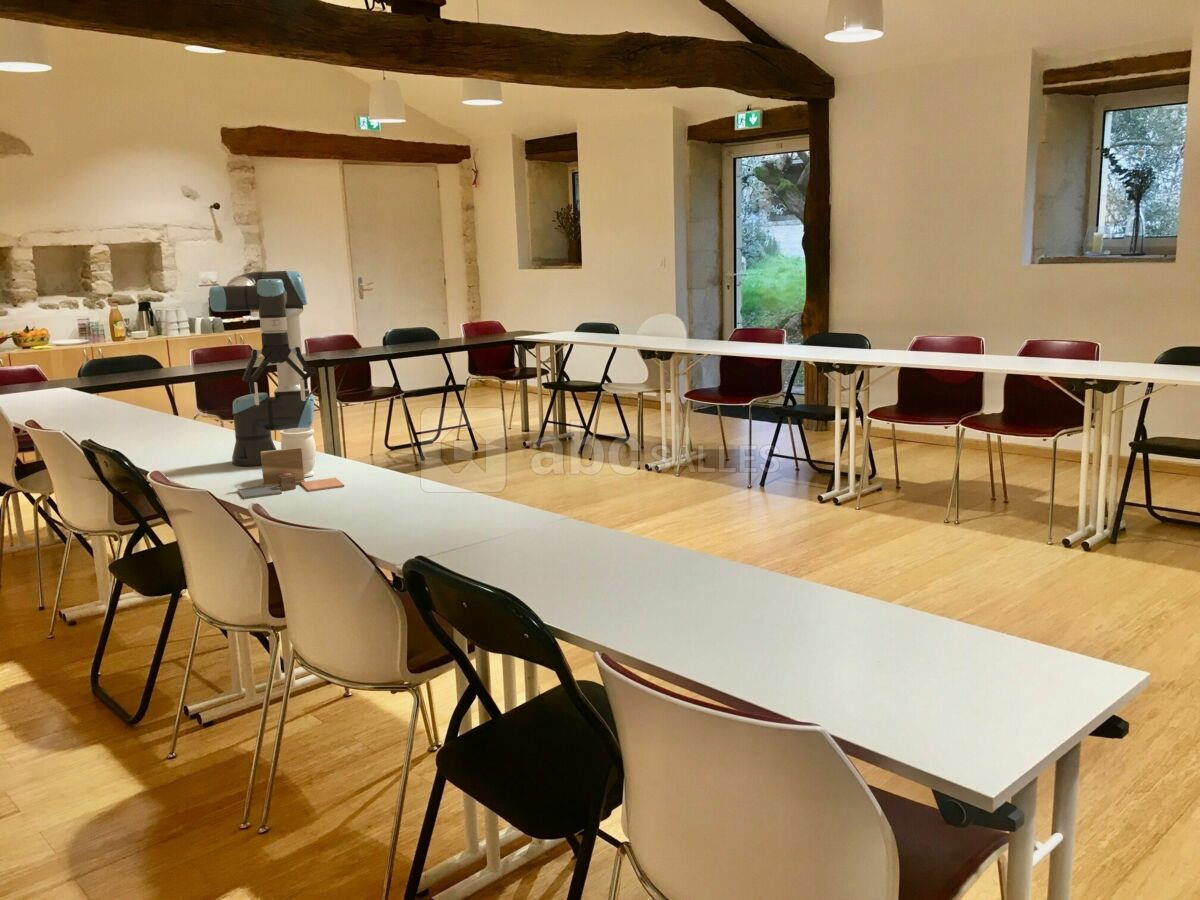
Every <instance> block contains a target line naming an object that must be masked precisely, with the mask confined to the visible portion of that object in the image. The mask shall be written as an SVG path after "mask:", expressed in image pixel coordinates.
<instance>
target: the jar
mask: <svg viewBox="0 0 1200 900" xmlns="http://www.w3.org/2000/svg"><path fill="white" fill-rule="evenodd" d="M314 433H315V429H314V428H313V427H309V428H291V429H286V430H279V434H280V436H281V441H280V449H289V448H298V447H301V450H302V462H303V474H304V479H305V478H311V477H313V476H314V475H315V472H314V471H313V469H314V467H315V463H316V451H317V450H316V449H317V447H316V442H315V437H314V435H313V434H314Z"/></svg>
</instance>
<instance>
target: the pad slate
mask: <svg viewBox="0 0 1200 900" xmlns="http://www.w3.org/2000/svg"><path fill="white" fill-rule="evenodd" d="M236 491H237V492H238V493H239V496H241V498H242V499H243V500H244V499H245V500H246V499H252V498H253V499H254V498H261V497H262V498H263V497H269V496H277V495H282V494H283V493H282V490H281V489H280V488H279V487H277V486H276V485H275V486H267V487H265V486H263V485H259V486H253V487H252V486H251V487H244V488H242V487H241V488H237V489H236Z"/></svg>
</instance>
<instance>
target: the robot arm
mask: <svg viewBox="0 0 1200 900" xmlns="http://www.w3.org/2000/svg"><path fill="white" fill-rule="evenodd" d="M208 291H209V292H208V296H209V306H210V309H211V310H212V311H213V312H221V313H222V312H223V313H225V312H239V311H240V312H242V311H259V324H260V331H261V334H260V335H261V337H260V338H261V346H262V348H261V349H255V348H253V349H251V351H250V352H251V353H250V359H249V361H248V363H247V365H246V368H245V371H244V372H243V373H244V374H243V375H242V381H243V382H246V383H248V384H249V393H250V394H246V395H243V396H239V397H237V398H235V399H234V400H233V401H232V415H233V424H234V435H235V443H234V448H233V453H232V455H231V456H232V457H231V461H232V462H231V463H232V465H234V466H238V467H256V466H262V462H261V452H262V451H271V450H277V448H276V445H275V442H274V441H273V438H272V431H282V430H286V429H291V428H312V426H313V421H314V412H315V411H314V410H315V395H314V394H312V393H311V394H310V388H309V384H308V379H309V378H311V377H313V376H314V373H313V371H312V370H311V368H310V366H309V365H308V363H307V361H306V359H305V357H304V356H303V349H302V335H301V324H300V322H301V321H300V315H301V314H302V313H303V312H304V306H307V304H308V299H307V294H306V289H305V284H304V281H303V277H302V274H301V273H300V272H299V271H296V270H295V271H293V270H278V271H277V270H276V271H273V270H272V271H252V272H246V273H244V274H243V273H242V274H240V275H238V276H235V277H233V278H232V279H230V280H229V281H228V283H227V285H218V286H211V287H210V288H209V290H208ZM260 355H262V356H263V357H264V358H263V359H262V361H261V363H260V364H259V365H258V367H257V368H256V369H255V370H254V372H253V374H252V371H253V369H254V366H255V365H256V364H255V363H256V361H257V358H259V357H260ZM269 363H271V364H276V370H277V373H276V375H277V387H276V389H275V390H274V391H273V393H274V396H269V395H268V393H267V392H259V391H258V389H259V388H258V382H257V381H256V380H257V379H258V378H259V377H260V375H261V374H262V372H263V371H264V370H265V368H266V367H267V366H268V365H269ZM304 371H305V372H304ZM251 374H252V375H251ZM255 381H256V382H255Z"/></svg>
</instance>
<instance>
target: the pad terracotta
mask: <svg viewBox="0 0 1200 900" xmlns="http://www.w3.org/2000/svg"><path fill="white" fill-rule="evenodd" d="M299 485H300V486H302V487H303V488H304V489H305V490H306V491H307V492H314V491H316V492H317V491H321V490H322V491H323V490H331V489H339V488H344V487H345V484H344V483H343V482H342V481H340V479H338V478H337V477H331V478H323V479H321V478H320V479H315V480H307V481H306V480H305V482H300V484H299Z"/></svg>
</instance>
